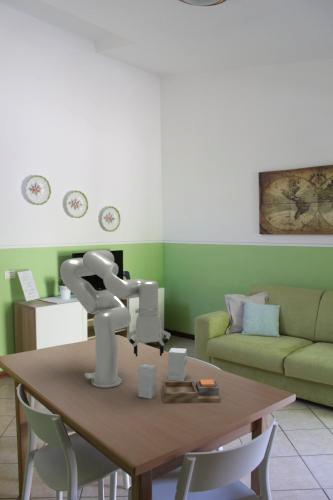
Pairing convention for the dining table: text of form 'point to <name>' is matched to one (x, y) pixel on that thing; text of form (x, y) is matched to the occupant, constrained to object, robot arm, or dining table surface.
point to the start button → (207, 383)
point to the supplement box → (177, 364)
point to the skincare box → (147, 381)
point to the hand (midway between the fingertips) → (148, 355)
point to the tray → (188, 392)
